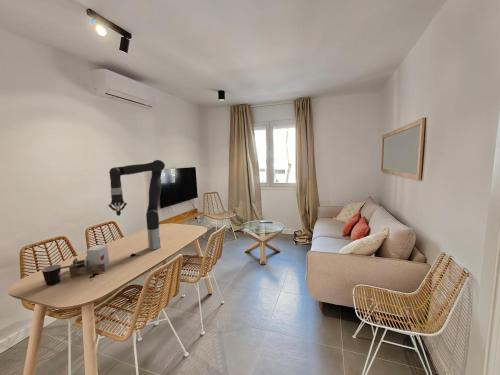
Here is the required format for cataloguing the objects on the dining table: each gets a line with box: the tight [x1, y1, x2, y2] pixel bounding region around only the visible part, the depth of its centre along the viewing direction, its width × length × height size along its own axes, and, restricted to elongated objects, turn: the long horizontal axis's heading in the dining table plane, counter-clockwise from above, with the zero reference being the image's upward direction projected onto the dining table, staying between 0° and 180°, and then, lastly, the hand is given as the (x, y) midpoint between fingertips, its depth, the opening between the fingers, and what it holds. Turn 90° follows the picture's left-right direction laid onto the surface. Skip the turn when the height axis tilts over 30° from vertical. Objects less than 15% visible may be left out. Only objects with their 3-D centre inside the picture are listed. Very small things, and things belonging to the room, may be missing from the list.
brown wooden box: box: [68, 257, 106, 279], centre depth 151 cm, size 18×15×7 cm
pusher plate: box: [61, 255, 88, 270], centre depth 146 cm, size 18×11×8 cm, turn 118°
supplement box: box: [86, 244, 110, 268], centre depth 153 cm, size 9×9×15 cm
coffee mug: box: [41, 264, 62, 287], centre depth 133 cm, size 12×9×10 cm
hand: (118, 215), depth 171 cm, fingers closed
